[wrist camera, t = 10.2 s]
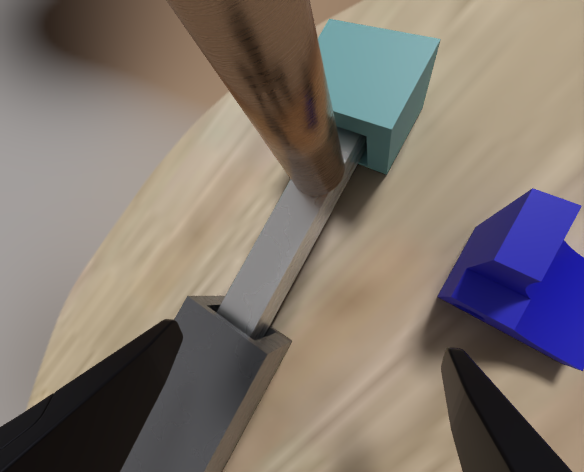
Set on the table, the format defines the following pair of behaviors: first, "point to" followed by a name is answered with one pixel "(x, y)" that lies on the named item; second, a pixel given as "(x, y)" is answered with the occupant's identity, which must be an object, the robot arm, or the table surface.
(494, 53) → the table surface
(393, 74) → the teal block with slot
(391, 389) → the table surface
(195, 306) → the gray rectangular tube
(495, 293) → the cable clip
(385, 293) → the table surface
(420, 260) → the table surface
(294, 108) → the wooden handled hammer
